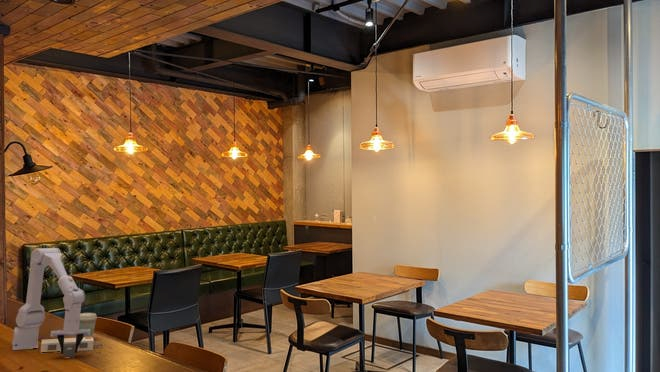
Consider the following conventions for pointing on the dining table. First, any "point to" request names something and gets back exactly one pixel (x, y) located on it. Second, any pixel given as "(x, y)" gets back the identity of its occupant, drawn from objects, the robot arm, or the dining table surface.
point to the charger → (69, 350)
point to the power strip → (54, 344)
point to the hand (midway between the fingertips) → (68, 353)
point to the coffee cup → (87, 322)
